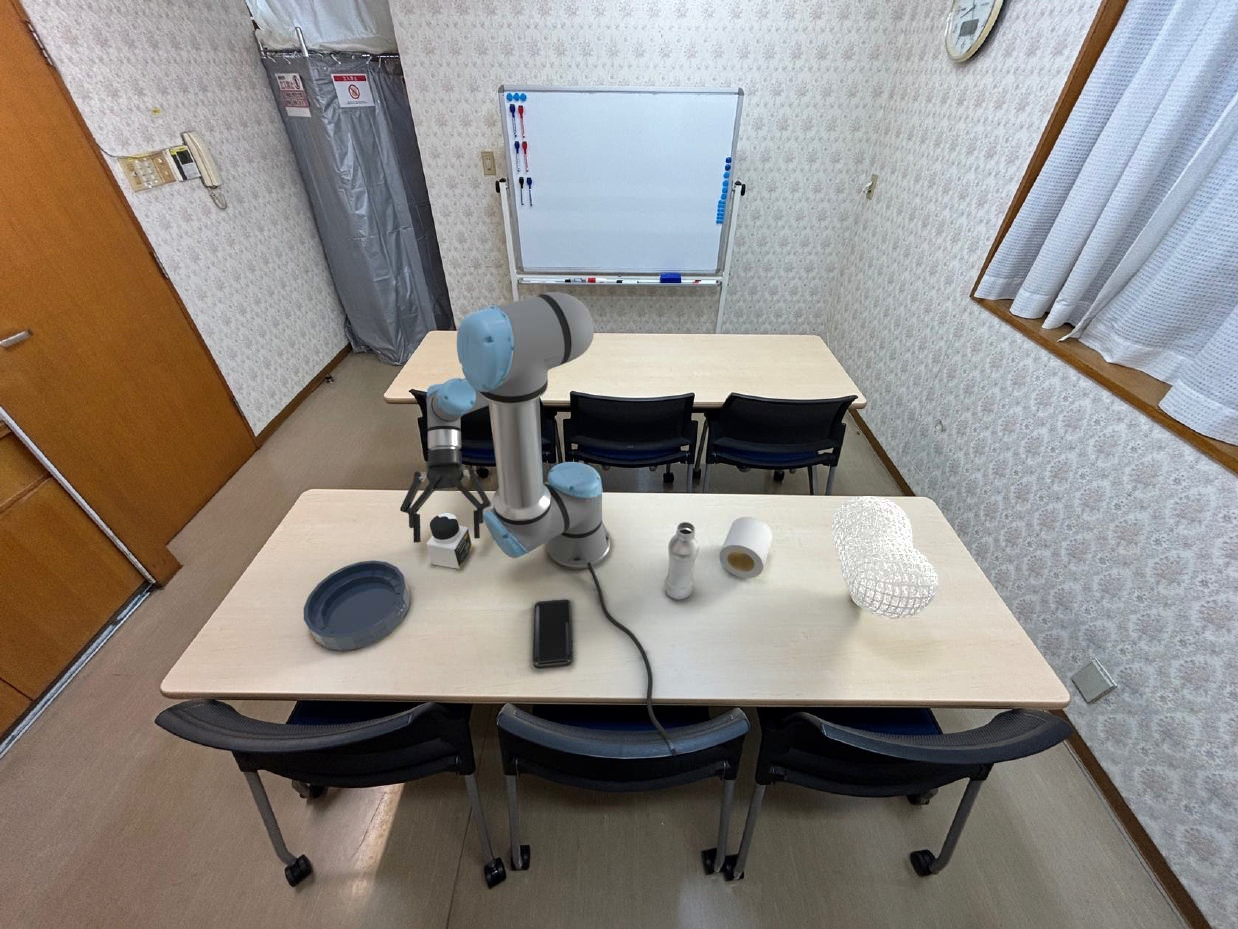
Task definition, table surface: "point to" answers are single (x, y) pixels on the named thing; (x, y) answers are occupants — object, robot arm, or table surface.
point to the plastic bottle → (681, 562)
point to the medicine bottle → (448, 541)
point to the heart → (882, 559)
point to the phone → (552, 634)
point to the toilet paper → (746, 547)
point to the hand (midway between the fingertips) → (447, 540)
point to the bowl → (357, 605)
